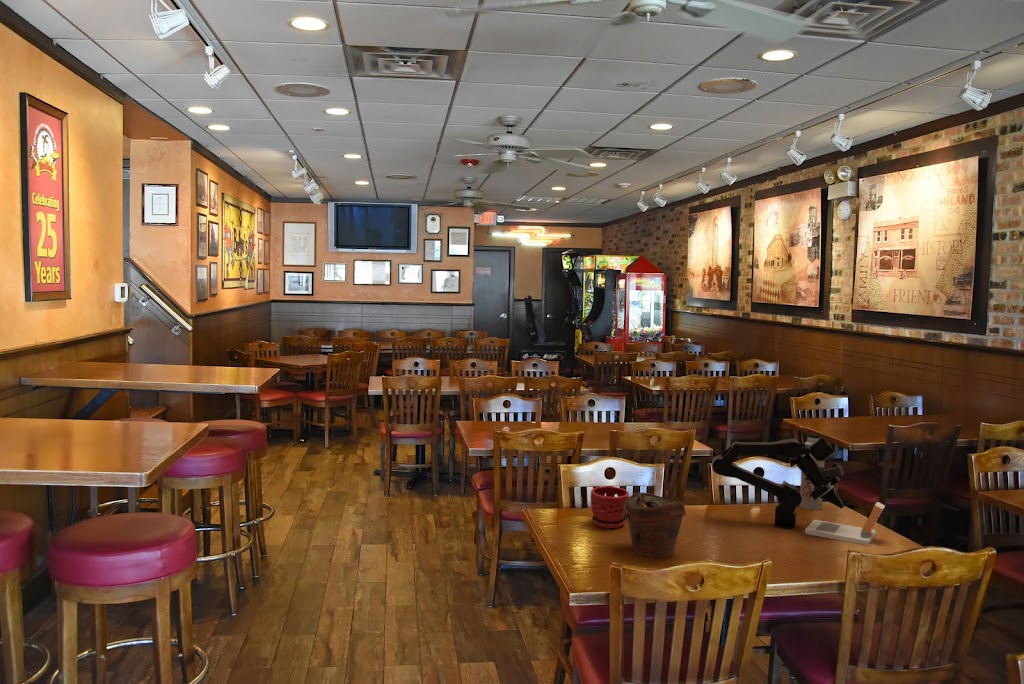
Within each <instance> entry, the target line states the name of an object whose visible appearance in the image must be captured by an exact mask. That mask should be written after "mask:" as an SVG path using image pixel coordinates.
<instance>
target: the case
mask: <svg viewBox="0 0 1024 684" xmlns="http://www.w3.org/2000/svg"><path fill="white" fill-rule="evenodd" d="M685 509H686V508H685V505H684V503H683V502H682V501H672V500H670V499H667V498H666V497H663V496H660V495H656V494H652V493H649V492H641V491H640V492H637V493H633V494H631V495H629V498H628V499H627V500H626V502H625V504H624V509H623V512H622V517H621V520H622V519H625V523H628V529H629V534H630V542H631V548H632V551H633V552H635V554H637V555H640V556H642V557H645V558H650V559H666V558H669V557H672V556H673V555H674V553H675V548H676V545H677V542H678V537H679V533H680V530H681V524H682V520H683V516H684V517H685V516H687V513H686V510H685Z"/></svg>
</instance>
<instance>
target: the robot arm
mask: <svg viewBox="0 0 1024 684" xmlns="http://www.w3.org/2000/svg"><path fill="white" fill-rule="evenodd" d="M810 453H811V454H812V455H813V457H814V458H815V459H816V460H817V461H822V462H823V461H824V460H825V461H826V460H828V459H829V458H830V457H831V456H833V455H834V454H835V453H836V450H835V449H833V447H832V446H831V445H830V444H829V442H827V441H826V440H825V439H824V438H823V437H822V436H821V437H820V438H819V439H818V440H817V441H816V442H814V443H813V444H812V445H810V446H809V445H806V444H805V443H801V442H799V441H798V440H797V439H795V438H786V439H780V440H777V441H769V442H767V441H760V442H759V441H757V442H755V441H749V442H748V441H741V442H740V441H734V442H733V443H732V444H731V445H730V446H728V447H727V448H726V449H725V450H724V451H722V452H721V453H720V454H718V455H716V456H714V457H713V458H712V461H711V467H712V471H713V472H714V473H715V474H717V475H719V476H722V477H727V478H733V479H737V480H739V481H742V482H744V483H746V484H749V485H750V486H753V487H755V488H757V489H759V490H762V491H764V492H767V493H769V494H771V495H773V496H774V497H775V499H776V503H777V506H776V507H775V510H774V523H773V524H772V526H774V527H779V528H784V529H789V530H793V529H794V528H795V527H796V526H797V524H798V523H797V522H798V513H797V512H796V510H797V507H799V506H800V503H801V501H802V497H801V494H800V491H799V489H798V488H797V487H796V485H795V484H790V483H789V482H787V481H785V480H783V481H782V483H778V482H775V481H772V480H770V479H767V478H765V477H763V476H761V475H759V474H757V473H754V472H752V471H750V470H747V469H745V468H742V467H740V466H739V465H738V464H736V463H735V461H736V459H737V458H738V457H739V456H740V455H775V456H781V457H786V458H790V461H789V462H790V465H789V466H790V468H793V467H794V466H796V467H797V468H798V469H799V470H800V472H801V471H802V472H803V474H804V475H805V476H806V477H807V478H805V479H806V480H807V481H808V480H809V481H810V482H811V483H812V484H813V486H814V490H813V491H812V492H811V497H812V498H813V499H814V500H816V499H817V498H819V497H820V496H821V495H822V496H821V497H820V498H822V500H824V501H826V502H828V503H830V504H832V505H834V506H836V507H837V508H840V509H843V508H845V505H844V502H843V501H842V498H841V496H840V495H839V492H838V487H839V484H838V482H840V481H842V480H841V477H843V476H844V475H845V472H844V467H843V466H842V465H841V464H839V463H838V462H834V463H832V464H831V467H829V468H825V466H824V467H819V465H818V464H817V463H816V462H815V461H814V460H813V458H812V457H811V456H810V455H809V454H810ZM802 455H805V456H803V457H802ZM825 461H824V462H825ZM817 465H818V466H817ZM806 473H807V474H806ZM835 484H836V485H835Z"/></svg>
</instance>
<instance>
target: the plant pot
mask: <svg viewBox="0 0 1024 684" xmlns="http://www.w3.org/2000/svg"><path fill="white" fill-rule="evenodd" d="M629 497H630V493H629V491H628V490H626V489H624V488H622V487H618V486H611V485H610V486H609V485H608V486H607V485H605V486H596V487H594V488H592V489H591V491H590V507H591V511H592V515H593V516H592V517H591V521H592V522H593V524H594V525H596V526H598V527H601V528H605V529H618V528H621V527H622V526H624V525H625V524H626V520H625V519H622V520H621V517H622V512H623V509H624V504H625V502H626V500H627V499H628V498H629Z"/></svg>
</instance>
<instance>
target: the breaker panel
mask: <svg viewBox="0 0 1024 684" xmlns="http://www.w3.org/2000/svg"><path fill="white" fill-rule="evenodd" d="M862 529H863V527H858V526H854V525H849V524H842V523H837V522H831V521H825V520H820V519H814V520H813V521H811V522H810V524H809V525H808V526H807V527H806V528H805V529H804V535H805V534H806V535H810V536H817V537H820V538H827V539H831V540H837V541H841V542H848V543H853V544H856V545H857V544H858V545H863V546H870V544H871V543H872V542H873V540H874V538H875V536H876V535H877V530H876V529H872V530H871V532H870V533H869V535H868V532H866V531H862Z"/></svg>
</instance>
